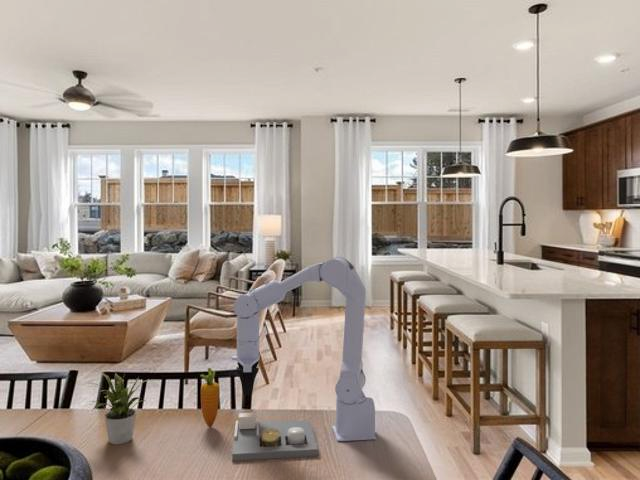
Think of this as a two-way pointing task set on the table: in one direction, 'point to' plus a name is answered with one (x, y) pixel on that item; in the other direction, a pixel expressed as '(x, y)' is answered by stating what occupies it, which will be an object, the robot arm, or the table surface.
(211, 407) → the carrot
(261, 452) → the control panel
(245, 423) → the white block
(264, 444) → the brass button
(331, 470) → the table surface
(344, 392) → the robot arm
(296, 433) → the white button
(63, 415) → the table surface
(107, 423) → the house plant
